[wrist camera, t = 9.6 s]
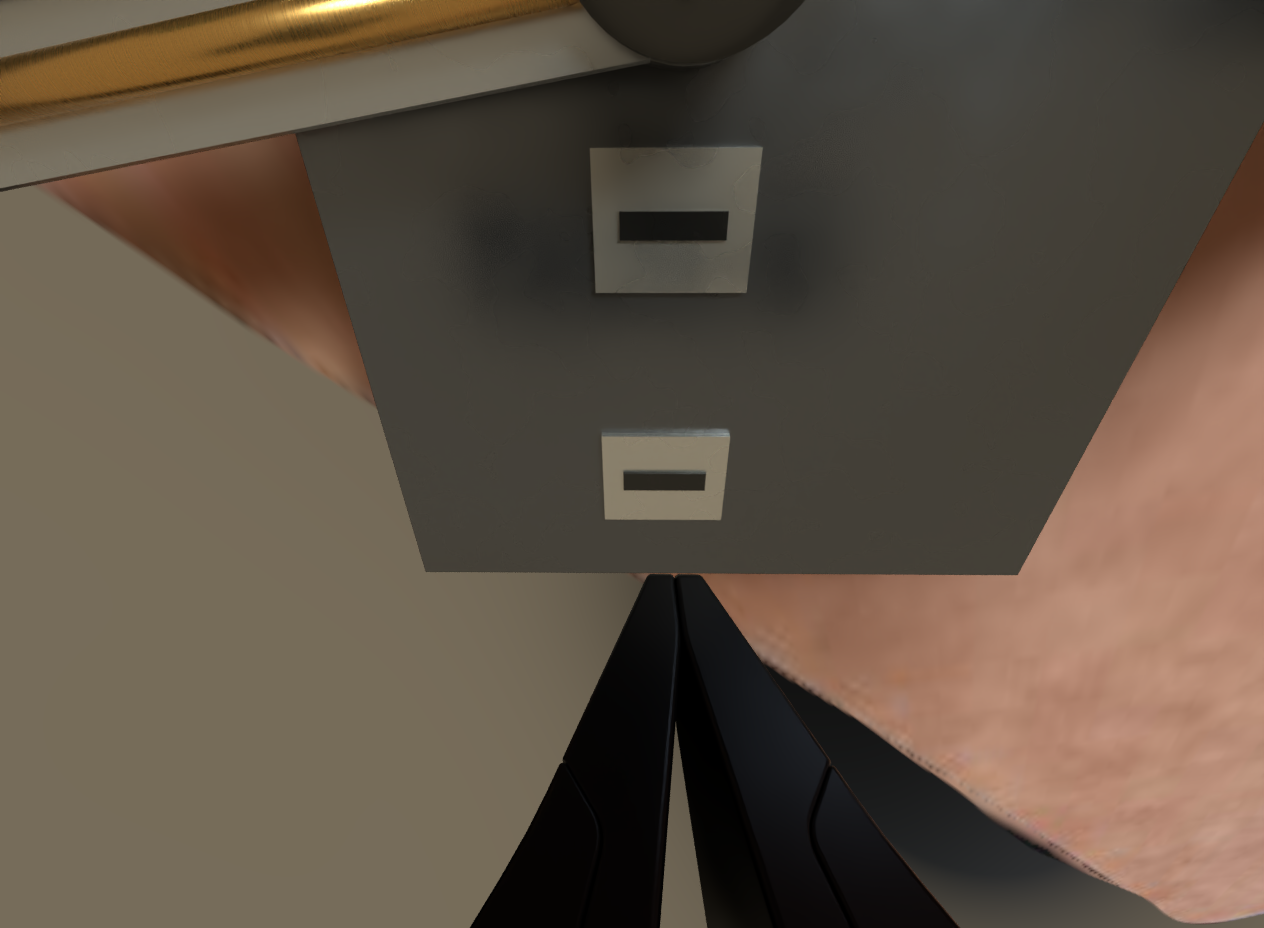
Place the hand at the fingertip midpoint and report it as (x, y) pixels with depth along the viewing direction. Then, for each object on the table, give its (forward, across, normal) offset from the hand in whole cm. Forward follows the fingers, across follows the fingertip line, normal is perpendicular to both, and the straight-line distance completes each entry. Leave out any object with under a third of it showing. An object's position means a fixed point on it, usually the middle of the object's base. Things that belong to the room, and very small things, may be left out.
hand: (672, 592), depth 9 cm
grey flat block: (+11, -2, -2) cm, 12 cm away
